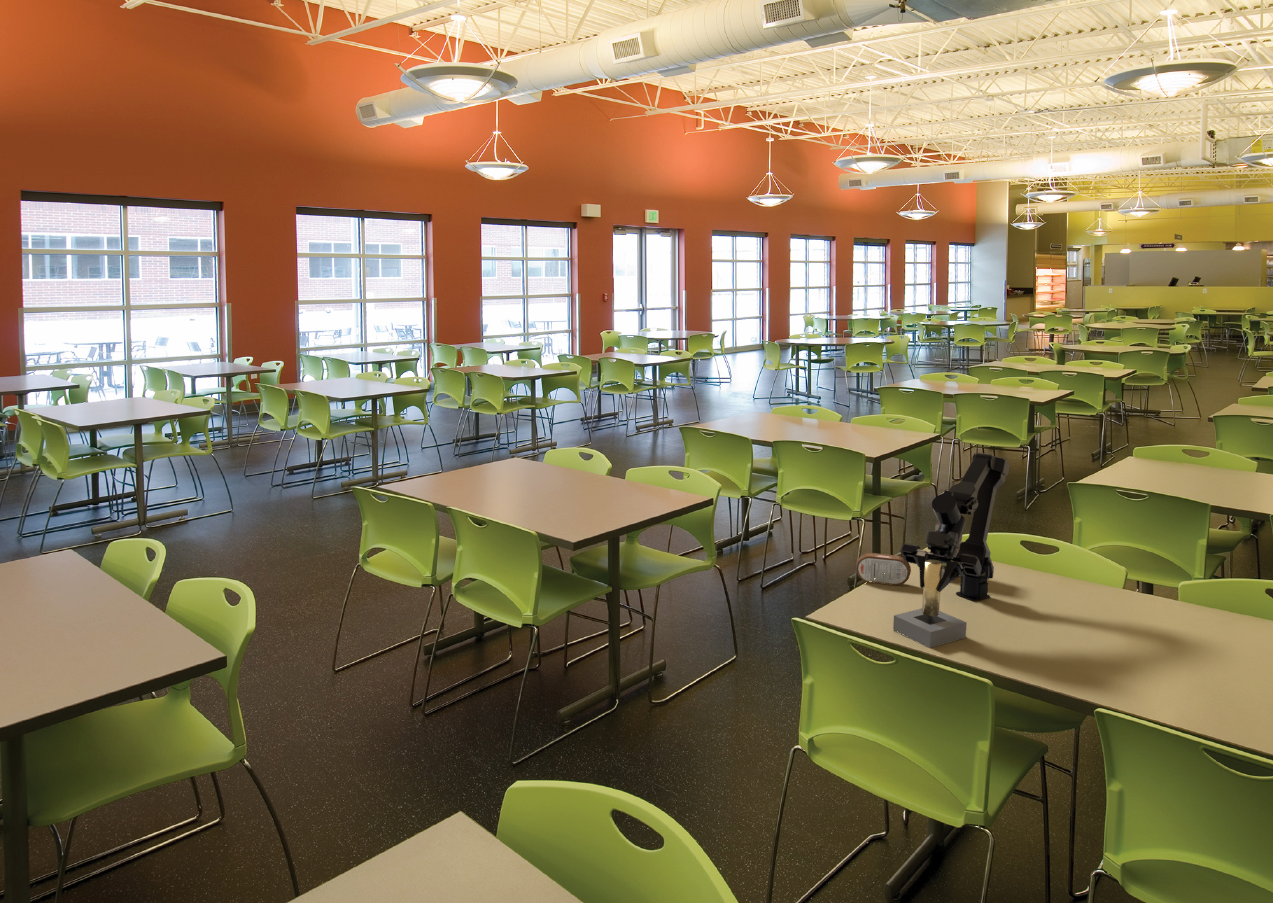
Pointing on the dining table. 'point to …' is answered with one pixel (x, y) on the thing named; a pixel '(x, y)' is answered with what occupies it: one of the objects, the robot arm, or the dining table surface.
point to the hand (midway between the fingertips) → (930, 589)
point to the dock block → (930, 627)
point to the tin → (883, 568)
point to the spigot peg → (931, 587)
